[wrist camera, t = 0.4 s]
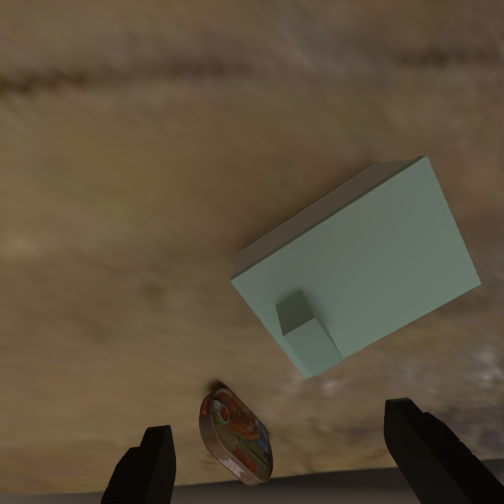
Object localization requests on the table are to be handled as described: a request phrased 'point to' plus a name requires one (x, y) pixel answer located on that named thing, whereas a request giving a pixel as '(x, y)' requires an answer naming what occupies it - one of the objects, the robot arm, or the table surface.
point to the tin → (235, 437)
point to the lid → (361, 271)
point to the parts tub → (316, 212)
